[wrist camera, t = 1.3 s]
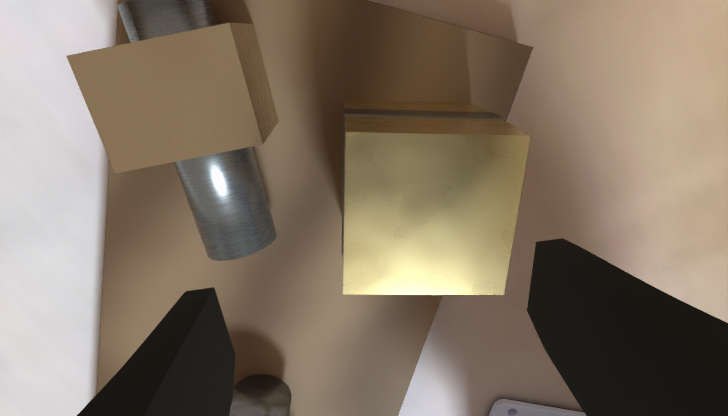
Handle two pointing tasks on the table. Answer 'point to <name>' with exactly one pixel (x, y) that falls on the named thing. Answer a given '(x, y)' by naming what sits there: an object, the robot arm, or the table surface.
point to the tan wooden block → (428, 197)
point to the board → (300, 206)
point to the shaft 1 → (188, 114)
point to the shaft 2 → (261, 397)
